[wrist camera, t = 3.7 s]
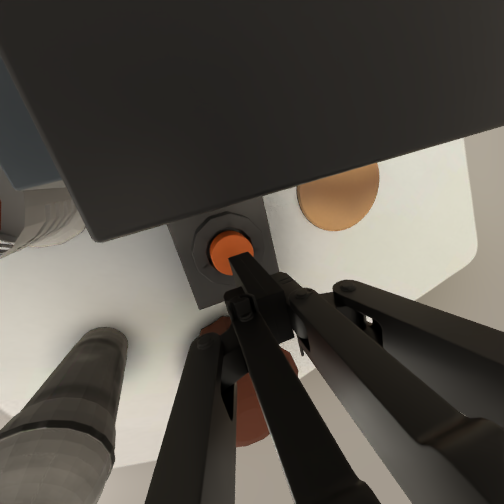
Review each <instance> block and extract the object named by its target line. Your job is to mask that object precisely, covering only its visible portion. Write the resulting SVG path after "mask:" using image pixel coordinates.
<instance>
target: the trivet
mask: <svg viewBox="0 0 504 504" xmlns="http://www.w3.org/2000/svg"><path fill="white" fill-rule="evenodd" d="M378 187H379V169H378V165H377V163H374V164H371V165H367V166H364V167H360V168H357V169H353V170H350V171H347V172H343V173H340V174H336V175H333V176H329V177H326V178H323V179H319V180H316V181H312V182H309V183H305V184H302V185H298V186H297V196H298V201H299V205H300V208H301V210H302V212H303V214H304V215H305V217H306V218H307V219H308V220H309V221H310V222H311V223H312V224H314V225H315V226H317V227H319V228H321V229H324V230H328V231H340V230H344V229H347V228H350V227H352V226H353V225H355V224H356V223H358V222H359V221H360V220H361V219H362V218H363V217H364V216H365V215H366V214H367V213H368V211H369V210H370V208H371V207H372V205H373V203H374V201H375V198H376V195H377V192H378Z"/></svg>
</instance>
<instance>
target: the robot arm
mask: <svg viewBox="0 0 504 504" xmlns="http://www.w3.org/2000/svg"><path fill="white" fill-rule="evenodd" d="M228 260H229V263H230V267H231V270H232V273H233V277H234V280H235V283H236V287H237V288H234V289H231V290H229V291H226V292H225V294H224V296H223V298H224V301H225V304H226V307H227V310H228V313H229V316H230V319H231V325H230V327H229V328H228V329H227V330H226V331H225V332H224V333H222V334H221V335H219V334H218V333H214V332H210V333H205V334H202V335H201V336H199V337H197V338H196V339H195V340H194V341H193V342H192V344H191V346H190V348H189V352H188V355H187V359H186V362H185V366H184V369H183V373H182V376H181V380H180V383H179V386H178V390H177V393H176V397H175V400H174V404H173V407H172V411H171V414H170V418H169V421H168V424H167V428H166V431H165V435H164V438H163V442H162V445H161V449H160V452H159V456H158V459H157V463H156V466H155V469H154V473H153V477H152V480H151V483H150V487H149V490H148V494H147V497H146V501H145V504H235V464H236V423H237V381H238V380H239V379H241V378H242V377H243V376H244V375H246V374H247V373H248V372H249V375H250V378H251V380H252V383H253V386H254V389H255V392H256V395H257V398H258V401H259V404H260V406H261V409H262V412H263V415H264V418H265V421H266V424H267V427H268V429H269V432H270V435H271V438H272V441H273V444H274V447H275V449H276V453H277V455H278V458H279V461H280V464H281V467H282V469H283V473H284V475H285V478H286V481H287V484H288V487H289V490H290V493H291V496H292V499H293V502H294V504H381V503H380V502H379V500H378V499H377V497H376V496H375V494H374V493H373V491H372V490H371V489H370V487H369V486H368V485H367V484H366V483H365V482H364V481H361V480H359V478H358V477H357V476H356V474H355V473H354V471H353V470H352V468H351V466H350V465H349V463H348V461H347V460H346V458H345V456H344V455H343V453H342V451H341V450H340V448H339V446H338V444H337V443H336V441H335V439H334V438H333V436H332V434H331V433H330V431H329V429H328V427H327V426H326V424H325V422H324V421H323V419H322V417H321V416H320V414H319V412H318V410H317V409H316V407H315V405H314V404H313V402H312V400H311V399H310V397H309V395H308V393H307V392H306V390H305V388H304V387H303V385H302V383H301V382H300V380H299V378H298V376H297V375H296V373H295V371H294V370H293V368H292V366H291V365H290V363H289V361H288V360H287V358H286V356H285V354H284V353H283V351H282V349H281V348H280V346H279V344H280V343H282V342H285V341H287V340H290V339H292V338H294V333H293V330H294V331H295V332H296V334H297V338H298V343H299V347H300V352H301V355H302V356H304V352H303V350H304V351H305V353H306V354H307V355H308V357H309V358H310V360H311V361H312V362H313V364H314V365H315V367H316V368H317V370H318V371H319V372H320V374H321V375H322V376H323V378H324V379H325V381H326V382H327V384H328V385H329V386H330V388H331V389H332V391H333V392H334V394H335V395H336V396H337V398H338V399H339V400H340V402H341V403H342V405H343V406H344V407H345V409H346V411H347V412H348V413H349V415H350V416H351V417H352V419H353V420H354V422H355V423H356V425H357V426H358V427H359V429H360V430H361V432H362V433H363V435H364V436H365V437H366V438H367V440H368V442H369V443H370V444H371V446H372V447H373V449H374V450H375V451H376V453H377V454H378V456H379V457H380V458H381V460H382V461H383V463H384V464H385V465H386V467H387V468H388V470H389V471H390V472H391V474H392V476H393V477H394V478H395V480H396V481H397V483H398V484H399V485H400V487H401V488H402V489H403V491H404V492H405V494H406V495H407V497H408V498H409V500H410V501H411V502H412V504H504V332H502V331H499V330H496V329H493V328H490V327H488V326H485V325H482V324H479V323H476V322H473V321H470V320H467V319H464V318H461V317H459V316H456V315H453V314H450V313H447V312H444V311H441V310H439V309H436V308H433V307H430V306H427V305H424V304H421V303H419V302H416V301H413V300H410V299H407V298H404V297H401V296H398V295H396V294H393V293H390V292H387V291H384V290H381V289H378V288H375V287H373V286H370V285H367V284H364V283H361V282H358V281H354V280H342V281H339V282H337V283H336V284H334V285H333V292H330V293H324V294H318V293H317V292H316V291H315V290H313V289H310V288H302V287H301V286H300V285H299V284H298V283H297V282H296V281H295V280H293V279H292V278H291V277H290V276H289V275H288V274H287V273H283V272H278V273H275V274H272V275H269V274H268V272H267V271H266V270H265V269H264V268H263V267H262V266H261V265H260V264H259V263H258V262H257V260H256V259H255V258H254V257H253V256H252V255H251V254H250V253H249V252H248V251H247V252H244V253H241V254H238V255H235V256H232V257H229V258H228ZM366 316H368V317H370V318H372V320H373V323H370V322H368V321H366ZM460 412H461V413H460ZM463 414H464V415H465V416H464V415H463Z"/></svg>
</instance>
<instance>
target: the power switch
mask: <svg viewBox="0 0 504 504" xmlns="http://www.w3.org/2000/svg"><path fill="white" fill-rule="evenodd" d="M167 226H168V228H169V231H170V234H171V236H172V239H173V241H174V244H175V247H176V249H177V252H178V255H179V257H180V260H181V263H182V265H183V268H184V271H185V273H186V276H187V279H188V281H189V284H190V287H191V289H192V292H193V294H194V297H195V300H196V302H197V305H198V308H199V310H201V309H204V308H207V307H209V306H212V305H215V304H218V303H220V302H223V301H224V298H223V296H224V294H225V292H226V291H229V290H231V289H234V288H237V287H236V283H235V280H234V277H233V275H226V274H223V273H221V272H220V271H218V270H217V269H216V268H215V266H214V264H213V262H212V259H211V256H210V246H211V243H212V241H213V239H214V238H215V237H216V236H217V235H218V234H220V233H222V232H225V231H236V232H239V233H240V234H242V235H243V236H244V237H245V238H246V239H247V240H248V241H249V242H250V243H251V245H252V247H253V251H254V256H253V257H254V258H255V259H256V260H257V262H258V263H259V264H260V265H261V266H262V267H263V268H264V269H265V270H266V271H267V272H268V274H269V275H272V274H275V273H278V272H279V269H278V264H277V260H276V255H275V251H274V246H273V242H272V238H271V233H270V229H269V224H268V220H267V215H266V211H265V207H264V202H263V198H262V196H261V197H257V198H254V199H250V200H247V201H243V202H240V203H237V204H233V205H230V206H226V207H223V208H219V209H216V210H213V211H209V212H206V213H202V214H199V215H195V216H192V217H188V218H185V219H182V220H178V221H175V222H171V223H168V224H167Z"/></svg>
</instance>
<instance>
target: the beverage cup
mask: <svg viewBox="0 0 504 504" xmlns="http://www.w3.org/2000/svg"><path fill="white" fill-rule="evenodd" d="M127 349H128V341H127V339H126V337H125V336H124V335H123V334H122V333H121V332H120V331H118V330H116V329H113V328H107V327H103V328H96V329H94V330H91V331H89V332H88V333H86V334H85V335H84V336H83V338H82V339H81V340H80V341H79V342H78V343H76V345H75V346H74V347H73V348H72V350H71V351H70V352H69V353H68V354H67V356H66V357H65V358H64V359H63V361H62V362H61V363H60V364H59V365H58V367H57V368H56V369H55V370H54V371H53V373H52V374H51V375H50V376H49V378H48V379H47V380H46V381H45V382H44V384H43V385H42V386H41V387H40V389H39V390H38V391H37V392H36V393H35V395H34V396H33V397H32V398H31V400H30V401H29V402H28V403H27V404H26V406H25V407H24V408H23V409H22V410H21V412H20V413H18V414H17V415H16V416H14V417H13V418H12V419H11V420H10V421H9V422H8V423H7V424H6V425H5V426H4V427H3V428H2V429H1V430H0V504H97V502H98V500H99V498H100V496H101V494H102V491H103V488H104V485H105V483H106V481H107V479H108V477H109V475H110V473H111V470H112V468H113V465H114V462H115V455H114V449H115V435H116V430H115V422H116V417H117V411H118V405H119V400H120V394H121V388H122V383H123V377H124V371H125V365H126V360H127Z"/></svg>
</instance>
